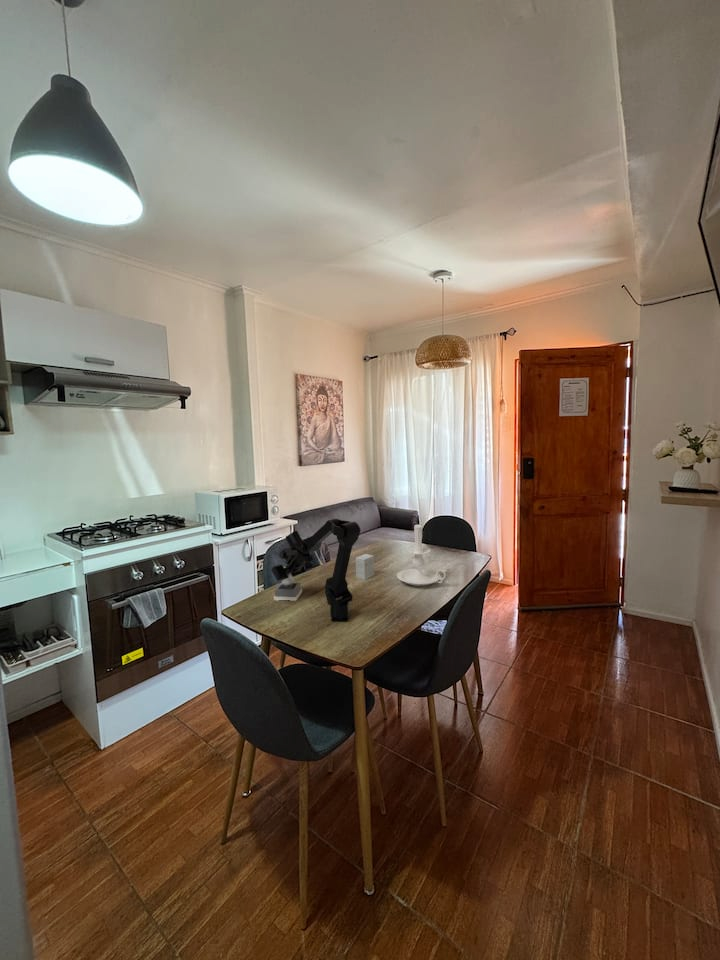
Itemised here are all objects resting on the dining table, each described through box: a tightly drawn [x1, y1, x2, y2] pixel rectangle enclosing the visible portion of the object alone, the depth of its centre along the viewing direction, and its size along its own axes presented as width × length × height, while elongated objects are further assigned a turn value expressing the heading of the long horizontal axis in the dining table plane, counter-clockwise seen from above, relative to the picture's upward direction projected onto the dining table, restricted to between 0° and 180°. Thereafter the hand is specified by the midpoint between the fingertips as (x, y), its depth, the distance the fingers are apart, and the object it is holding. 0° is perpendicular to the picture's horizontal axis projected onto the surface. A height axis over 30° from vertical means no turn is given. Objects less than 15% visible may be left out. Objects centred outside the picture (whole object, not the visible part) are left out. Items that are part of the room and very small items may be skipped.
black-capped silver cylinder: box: [281, 563, 294, 589], centre depth 178 cm, size 5×5×12 cm
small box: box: [355, 553, 375, 581], centre depth 199 cm, size 8×6×10 cm
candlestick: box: [396, 524, 448, 587], centre depth 188 cm, size 21×25×28 cm
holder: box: [273, 581, 303, 602], centre depth 179 cm, size 10×10×4 cm
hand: (285, 577), depth 179 cm, fingers closed on black-capped silver cylinder, 5 cm apart
